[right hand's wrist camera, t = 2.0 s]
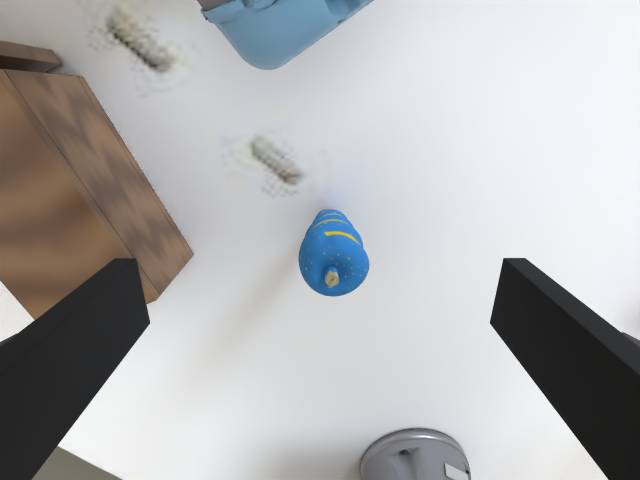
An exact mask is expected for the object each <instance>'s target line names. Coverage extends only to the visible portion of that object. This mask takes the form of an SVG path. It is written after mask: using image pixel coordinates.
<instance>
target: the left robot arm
mask: <svg viewBox="0 0 640 480" xmlns="http://www.w3.org/2000/svg"><path fill="white" fill-rule="evenodd" d="M197 1H198V2H199V4H200V5H201V6H202V9H201V13H202V14H203V16H204V17H205V19H206V20H208V21H209V22H211V23H214V24H215V25H216V26H217V27H218V28H219V29H220V31H221V32H222V33H223V35H224V36H225V37H226V38H227V40H228V41H229V42H230V43H231V45H232V46H233V47H234V48H235V50H236V51H237V52H238V53H239V55H240V56H241V57H242V58H243V59H244V60H245V61H246V62H247V63H249V64H250V65H252V66H254V67H256V68H259V69H265V70H271V69H276V68H279V67H281V66H283V65H284V64H286V63H287V62H289V61H290V60H292V59H293V58H294V57H296V56H297V55H299V54H300V53H301V52H303V51H304V50H306V49H307V48H308V47H310V46H311V45H313V44H314V43H315V42H317V41H318V40H319V39H321V38H322V37H324V36H325V35H326V34H328V33H329V32H331V31H332V30H333V29H335V28H336V27H337V26H339V25H340V24H342V23H343V22H344V21H346V20H347V19H349V18H350V17H351V16H353V15H354V14H355V13H357V12H358V11H360V10H361V9H362V8H364V7H365V6H366V5H368V4H369V3H371V2H372V1H373V0H197Z"/></svg>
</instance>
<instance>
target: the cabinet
mask: <svg viewBox="0 0 640 480" xmlns="http://www.w3.org/2000/svg"><path fill="white" fill-rule="evenodd" d="M193 255H194V254H193V252H192V251H191V249H190V248H189V246H188V244H187V243H186V241H185V240H184V238H183V236H182V235H181V233H180V232H179V230H178V228H177V227H176V225H175V224H174V222H173V220H172V219H171V217H170V216H169V214H168V212H167V211H166V209H165V208H164V206H163V204H162V203H161V201H160V200H159V198H158V196H157V195H156V193H155V192H154V190H153V188H152V187H151V185H150V184H149V182H148V180H147V179H146V177H145V176H144V174H143V172H142V171H141V169H140V168H139V166H138V164H137V163H136V161H135V160H134V158H133V156H132V155H131V153H130V152H129V150H128V148H127V147H126V145H125V144H124V142H123V140H122V139H121V137H120V136H119V134H118V132H117V131H116V129H115V128H114V126H113V124H112V123H111V121H110V120H109V118H108V116H107V115H106V113H105V112H104V110H103V108H102V107H101V105H100V104H99V102H98V100H97V99H96V97H95V96H94V94H93V92H92V91H91V89H90V87H89V86H88V84H87V83H86V81H85V79H84V78H83V77H81V76H69V75H59V74H49V73H38V72H28V71H18V70H8V69H0V281H1V282H2V283H3V284H4V285H5V286H6V288H7V289H8V290H9V291H10V292H11V293H12V294H13V296H14V297H15V298H16V299H17V300H18V301H19V303H20V304H21V305H22V306H23V307H24V308H25V309H26V311H27V312H28V313H29V314H30V315H31V316H32V317H33V319H34V320H36V319H37V318H38V317H40V316H41V315H42V314H44V313H45V312H46V311H47V310H49V309H50V308H51V307H53V306H54V305H55V304H57V303H58V302H59V301H60V300H62V299H63V298H64V297H66V296H67V295H68V294H69V293H71V292H72V291H73V290H75V289H76V288H77V287H78V286H80V285H81V284H82V283H84V282H85V281H86V280H87V279H89V278H90V277H91V276H93V275H94V274H95V273H96V272H98V271H99V270H100V269H102V268H103V267H104V266H105V265H107V264H108V263H109V262H111V261H112V260H113V259H115V258H136V259H137V263H138V268H139V273H140V278H141V282H142V287H143V292H144V296H145V301H146V304H148V303H151V302H153V301H156V300H157V299H158V297H159V296H160V295H161V294H162V293H163V291H164V290H165V289H166V288H167V286H168V285H169V284H170V283H171V282H172V280H173V279H174V278H175V277H176V276H177V274H178V273H179V272H180V271H181V269H182V268H183V267H184V266H185V265H186V263H187V262H188V261H189V260H190V258H191V257H192V256H193Z"/></svg>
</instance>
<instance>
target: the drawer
mask: <svg viewBox="0 0 640 480" xmlns="http://www.w3.org/2000/svg"><path fill="white" fill-rule="evenodd" d="M59 64H60V62H59V60H58V58H57V57H56V55H55V54H54V52H53V51H52V50H48V49H43V48H38V47H32V46H27V45H22V44H16V43H11V42H5V41H0V69H8V70H18V71H28V72H38V73H45V72H47V71H49V70H50V69H52V68H54V67H56V66H58V65H59Z"/></svg>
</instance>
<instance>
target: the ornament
mask: <svg viewBox="0 0 640 480" xmlns="http://www.w3.org/2000/svg"><path fill="white" fill-rule="evenodd" d="M299 266H300V271H301V273H302V276H303V278H304V280H305V281H306V283H307V284H308V285H309V286H310V287H311V288H312V289H313V290H314V291H316V292H318V293H320V294H322V295H326V296H340V295H344V294H347V293H350V292H351V291H353V290H355V289H356V288H357V287H358V286H359V285H360V284H361V283H362V282H363V281H364V279H365V278H366V276H367V273H368V270H369V260H368V256H367V254H366V252H365V250H364V249H363V243H362V240H361V237H360V235H359V234H358V232H357V231H356V230H355V229H354V228H353V226H352V224H351V223H350V221H349V220H347V218H346V217H345V215H344V214H342V213H341V212H339V211H337V210H322V211H321V212H319V214H318V215H317V216H316V218H315V220H314V221H313V223H312V225H311V226H310V227H309V229H308V230H307V233H306V235H305V238H304V240H303V242H302V244H301V247H300V251H299Z"/></svg>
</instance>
